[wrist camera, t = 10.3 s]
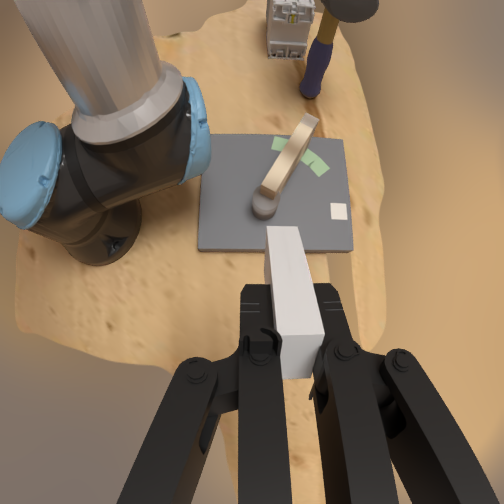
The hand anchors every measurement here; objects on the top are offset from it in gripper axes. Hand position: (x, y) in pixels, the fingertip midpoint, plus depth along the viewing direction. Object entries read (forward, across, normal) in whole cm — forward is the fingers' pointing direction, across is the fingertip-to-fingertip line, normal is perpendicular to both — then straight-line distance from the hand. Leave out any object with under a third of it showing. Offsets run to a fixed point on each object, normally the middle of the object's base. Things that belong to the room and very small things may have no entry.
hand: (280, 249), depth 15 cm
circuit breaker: (+59, +6, +16) cm, 61 cm away
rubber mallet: (+47, +10, +4) cm, 48 cm away
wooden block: (+31, +4, -8) cm, 32 cm away
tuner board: (+32, +3, -11) cm, 34 cm away
